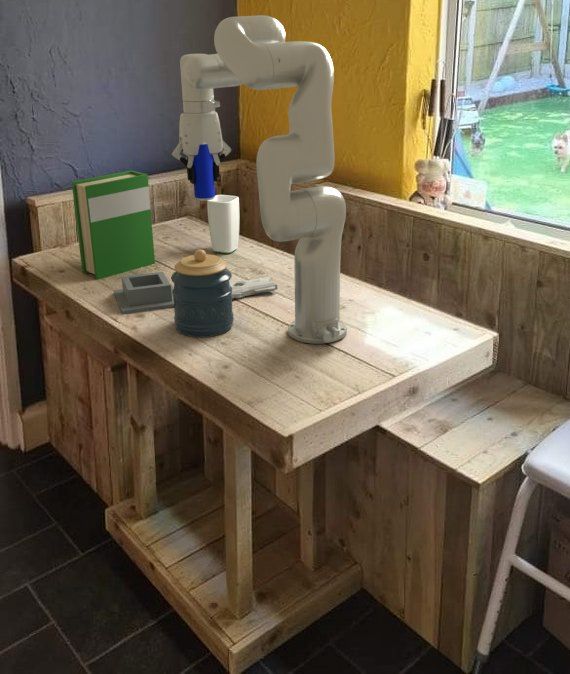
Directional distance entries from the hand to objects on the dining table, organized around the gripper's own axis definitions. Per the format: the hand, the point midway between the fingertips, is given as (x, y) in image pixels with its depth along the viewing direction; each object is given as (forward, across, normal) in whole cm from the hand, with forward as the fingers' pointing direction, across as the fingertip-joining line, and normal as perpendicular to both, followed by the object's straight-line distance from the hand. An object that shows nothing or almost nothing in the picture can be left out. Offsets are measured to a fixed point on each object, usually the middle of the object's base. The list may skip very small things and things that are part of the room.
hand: (203, 181), depth 209 cm
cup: (+23, -8, -13) cm, 28 cm away
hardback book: (+23, +22, -9) cm, 33 cm away
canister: (+24, +10, +37) cm, 45 cm away
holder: (+23, +19, +16) cm, 34 cm away
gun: (+24, -2, +19) cm, 31 cm away
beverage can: (+5, 0, 0) cm, 5 cm away
